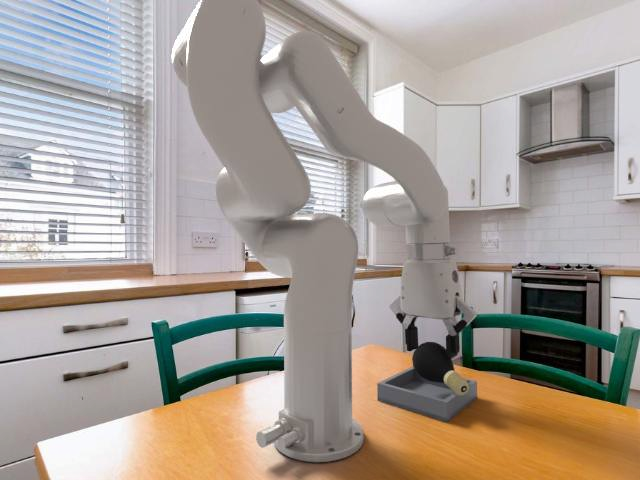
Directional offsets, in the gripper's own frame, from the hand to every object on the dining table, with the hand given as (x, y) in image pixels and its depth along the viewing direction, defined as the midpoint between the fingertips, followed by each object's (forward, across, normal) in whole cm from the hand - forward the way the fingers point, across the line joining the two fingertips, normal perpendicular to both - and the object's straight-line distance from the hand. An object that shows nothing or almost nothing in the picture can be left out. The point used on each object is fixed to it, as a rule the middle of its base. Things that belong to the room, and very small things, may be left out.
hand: (431, 352), depth 68 cm
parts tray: (+8, 0, +2) cm, 8 cm away
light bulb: (+5, -2, +2) cm, 6 cm away
